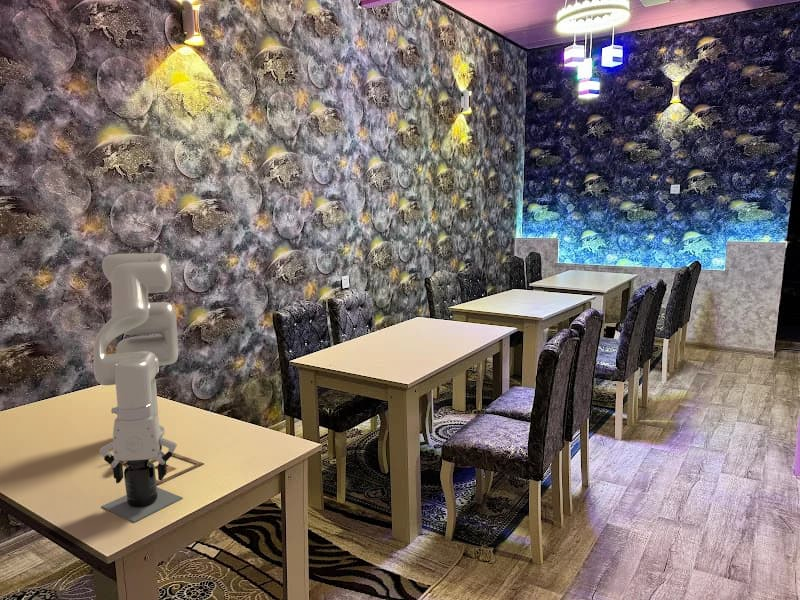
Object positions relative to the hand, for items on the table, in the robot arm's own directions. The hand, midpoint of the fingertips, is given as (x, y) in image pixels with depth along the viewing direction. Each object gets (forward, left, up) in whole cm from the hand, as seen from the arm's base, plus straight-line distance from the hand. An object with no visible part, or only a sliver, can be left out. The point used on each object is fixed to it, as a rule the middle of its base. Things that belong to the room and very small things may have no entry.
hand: (140, 479), depth 140 cm
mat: (0, 0, -6) cm, 6 cm away
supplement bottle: (0, 0, -6) cm, 6 cm away
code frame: (-12, +15, -6) cm, 20 cm away
